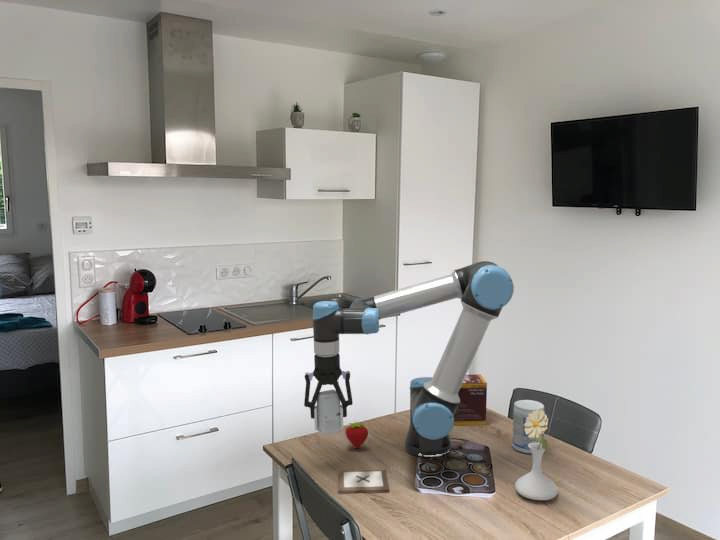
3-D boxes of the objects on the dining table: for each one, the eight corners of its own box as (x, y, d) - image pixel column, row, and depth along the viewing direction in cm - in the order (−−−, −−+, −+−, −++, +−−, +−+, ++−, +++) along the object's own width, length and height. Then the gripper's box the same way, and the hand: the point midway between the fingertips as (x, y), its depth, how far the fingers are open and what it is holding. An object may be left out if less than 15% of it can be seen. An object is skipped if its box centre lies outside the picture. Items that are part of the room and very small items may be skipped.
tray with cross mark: (385, 472, 178) (385, 468, 178) (389, 492, 166) (389, 488, 166) (338, 473, 178) (338, 469, 178) (338, 493, 166) (338, 489, 166)
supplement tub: (524, 456, 188) (526, 411, 186) (506, 445, 196) (507, 401, 194) (549, 451, 191) (551, 407, 189) (530, 440, 200) (531, 397, 198)
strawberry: (365, 453, 191) (365, 423, 190) (343, 450, 193) (342, 420, 192) (370, 446, 196) (370, 416, 195) (348, 443, 199) (348, 414, 197)
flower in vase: (510, 483, 170) (512, 399, 167) (551, 484, 170) (554, 399, 167) (521, 508, 158) (523, 416, 154) (565, 508, 157) (568, 416, 154)
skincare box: (324, 436, 178) (322, 396, 176) (316, 431, 181) (315, 392, 180) (342, 431, 181) (340, 392, 179) (334, 426, 185) (333, 388, 183)
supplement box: (486, 425, 213) (487, 382, 211) (443, 426, 213) (443, 383, 211) (480, 414, 223) (481, 373, 221) (439, 415, 223) (439, 374, 221)
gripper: (360, 349, 182) (361, 421, 185) (293, 351, 181) (296, 424, 184) (361, 355, 175) (362, 431, 178) (292, 358, 174) (295, 434, 177)
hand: (329, 427), depth 181 cm, fingers closed on skincare box, 7 cm apart
